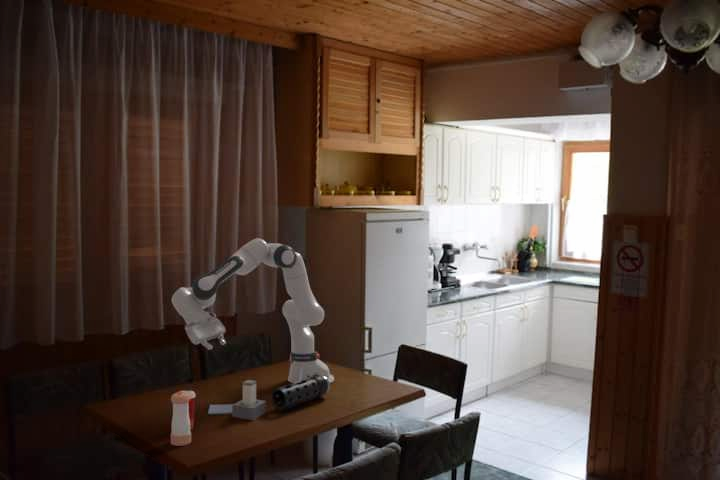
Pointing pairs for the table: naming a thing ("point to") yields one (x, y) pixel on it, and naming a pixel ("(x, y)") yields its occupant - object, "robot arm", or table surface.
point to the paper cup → (191, 407)
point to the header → (249, 410)
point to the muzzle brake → (300, 392)
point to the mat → (220, 409)
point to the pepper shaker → (180, 419)
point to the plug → (249, 392)
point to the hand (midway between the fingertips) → (217, 346)
